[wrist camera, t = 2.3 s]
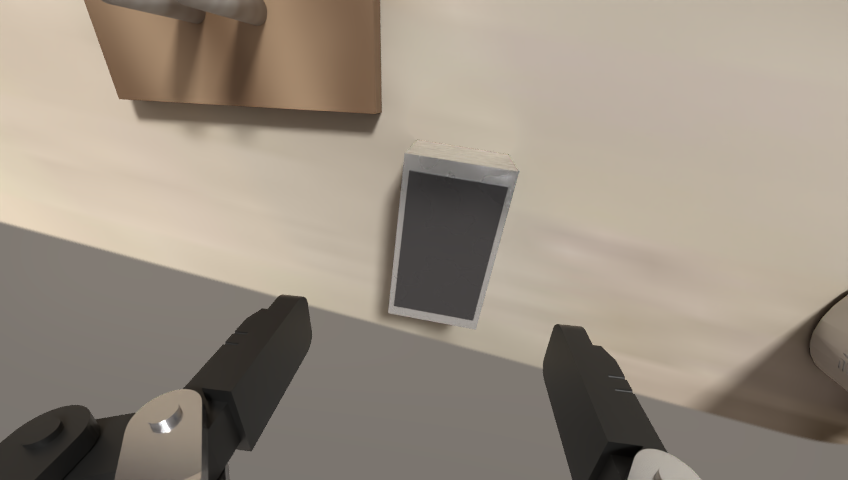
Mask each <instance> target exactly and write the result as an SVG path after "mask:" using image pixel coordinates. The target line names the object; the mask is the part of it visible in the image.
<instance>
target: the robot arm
mask: <svg viewBox="0 0 848 480" xmlns="http://www.w3.org/2000/svg"><path fill="white" fill-rule="evenodd" d="M311 339H312V330H311V323H310V316H309V310H308V303H307V299H306V298H305V297H300V296H291V295H280V296H279V297H278V298H277V299H276V300H275V301H274V302H273V304H272V305H271V306H270V307H269V308H268V309H261V310H259V311H258V312H256V313H254V314H253V315H251V316H250V317H248V318H247V319H246V320H245V321H244V322H243V323H242V324H241V325H240V326H239V328H237V330H236V331H235V334H232V335H231V336H230V337H229V338H228V340H227V341H226V344H225V345H222V346H221V347H220V349H219V350H218V351H217V352H216V353H215V354H214V355H213V356H212V357H211V358H210V360H209V361H208V362H207V363H206V364H205V365H204V366H203V367H202V368H201V370H200V371H199V372H198V373H197V374H196V375H195V376H194V377H193V378H192V380H191V381H190V382H189V383H188V384H187V385H186V386H185V387H184V388H183V389H179V390H174V391H171V392H167V393H165V394H162V395H160V396H158V397H156V398H155V399H153V400H151V401H149V402H148V403H147V404H145V405H144V406H143V407H142V408H141V409H139V410H138V411H137V412H136V413H131V414H125V415H119V416H113V417H108V418H102V419H95V418H94V417H93V415H92V414H91V412H90V411H89V409H87V408H86V407H84V406H80V405H70V406H64V407H60V408H57V409H54V410H51V411H49V412H46V413H44V414H42V415H40V416H38V417H36V418H34V419H32V420H31V421H29V422H27V423H26V424H24V425H23V426H21V427H20V428H18V429H17V430H16V431H14V432H13V433H12V434H10V435H9V436H8V437H7V438H6V439H5V440H3V441H2V442H1V443H0V480H230V476H229V465H228V461H229V459H230V458H231V456H232V455H233V453H234V451H235V450H236V449H238V450H245V451H252V450H253V448H254V446H255V444H256V442H257V441H258V439H259V437H260V435H261V434H262V432H263V430H264V428H265V426H266V425H267V423H268V421H269V419H270V418H271V416H272V414H273V412H274V411H275V409H276V407H277V405H278V403H279V401H280V400H281V398H282V396H283V395H284V393H285V391H286V389H287V387H288V386H289V384H290V382H291V380H292V379H293V377H294V375H295V373H296V371H297V370H298V368H299V366H300V364H301V362H302V361H303V359H304V357H305V355H306V353H307V352H308V350H309V347H310V344H311ZM810 355H811V357H812V359H813V361H814V363H815V364H816V365H817V366H818V367H819V368H820V369H821V370H822V371H823V372H824V373H825V374H827V375H828V376H829V377H830V378H832V379H833V380H834V381H835V382H837V383H838V384H839V385H840V386H841V387H843V388H844V389H845V390H846V391H848V295H847V296H846V297H844V298H843V299H842V300H840V301H839V302H838V303H837V304H835V305H834V306H833V307H832V308H831V309H830V310H829V311H828V312H827V313H826V314H825V315H824V316H823V317H822V319H821V320H820V322H819V323H818V325H817V326H816V328H815V330H814V331H813V334H812V338H811V341H810ZM543 376H544V381H545V385H546V388H547V391H548V395H549V399H550V402H551V406H552V409H553V413H554V416H555V420H556V423H557V427H558V431H559V434H560V438H561V441H562V445H563V448H564V452H565V455H566V459H567V462H568V466H569V469H570V473H571V476H572V480H702V479H701V478H700V477H699V476H698V475H697V474H696V473H695V472H694V471H693V470H692V469H691V468H690V467H689V466H687V465H686V464H685V463H683V462H682V461H681V460H679V459H678V458H676V457H674V456H672V455H671V454H668V452H667V451H666V449H665V448H664V446H663V444H662V442H661V440H660V439H659V437H658V435H657V433H656V432H655V430H654V428H653V426H652V425H651V423H650V421H649V419H648V417H647V416H646V414H645V412H644V410H643V408H642V407H641V405H640V403H639V401H638V399H637V398H636V396H635V394H633V393H632V389H631V387H630V385H629V383H628V382H627V380H625V376H624V374H623V373H622V371H621V369H620V367H619V365H618V364H617V362H616V360H615V359H614V358H613V357H612V356H611V355H610V354H609V353H607V352H606V351H605V350H604V349H603V348H602V347H601V346H595V345H592V343H591V341H590V339H589V337H588V335H587V333H586V331H585V329H584V328H583V327H580V326H570V325H560V324H556V325H555V326H554V328H553V331H552V334H551V337H550V341H549V344H548V347H547V350H546V354H545V357H544V361H543Z"/></svg>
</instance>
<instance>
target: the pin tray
mask: <svg viewBox="0 0 848 480" xmlns="http://www.w3.org/2000/svg"><path fill="white" fill-rule="evenodd" d="M84 1H85V4H86V7H87V10H88V13H89V15H90V18H91V21H92V24H93V27H94V30H95V32H96V35H97V38H98V41H99V44H100V46H101V49H102V52H103V55H104V58H105V60H106V63H107V66H108V69H109V72H110V75H111V77H112V80H113V83H114V86H115V89H116V91H117V94H118V97H119V99H128V100H145V101H162V102H179V103H197V104H214V105H231V106H248V107H266V108H283V109H300V110H317V111H335V112H352V113H369V114H377V113H380V112H382V101H381V36H380V0H84Z"/></svg>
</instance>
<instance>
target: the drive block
mask: <svg viewBox="0 0 848 480" xmlns="http://www.w3.org/2000/svg"><path fill="white" fill-rule="evenodd" d="M518 174H519V171H518V169H517V167H516V166H515V164H514V162H513V161H512V159H511V157H510V156H509V154H504V153H498V152H492V151H486V150H479V149H473V148H467V147H461V146H454V145H448V144H442V143H436V142H429V141H423V140H416V141H415V142H414V143H413V144H412V146H411V147H410V148H409V149H408V150H407V151H406V152H405V155H404V165H403V175H402V184H401V194H400V204H399V213H398V223H397V232H396V242H395V252H394V261H393V271H392V280H391V290H390V300H389V309H388V313H390V314H396V315H401V316H406V317H412V318H417V319H422V320H428V321H433V322H438V323H444V324H449V325H454V326H460V327H465V328H470V329H476V327H477V323H478V319H479V316H480V312H481V308H482V305H483V301H484V298H485V294H486V290H487V287H488V283H489V279H490V276H491V272H492V268H493V265H494V261H495V258H496V254H497V250H498V247H499V243H500V239H501V236H502V232H503V228H504V225H505V221H506V217H507V214H508V210H509V207H510V203H511V199H512V196H513V192H514V188H515V185H516V181H517V177H518Z"/></svg>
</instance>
